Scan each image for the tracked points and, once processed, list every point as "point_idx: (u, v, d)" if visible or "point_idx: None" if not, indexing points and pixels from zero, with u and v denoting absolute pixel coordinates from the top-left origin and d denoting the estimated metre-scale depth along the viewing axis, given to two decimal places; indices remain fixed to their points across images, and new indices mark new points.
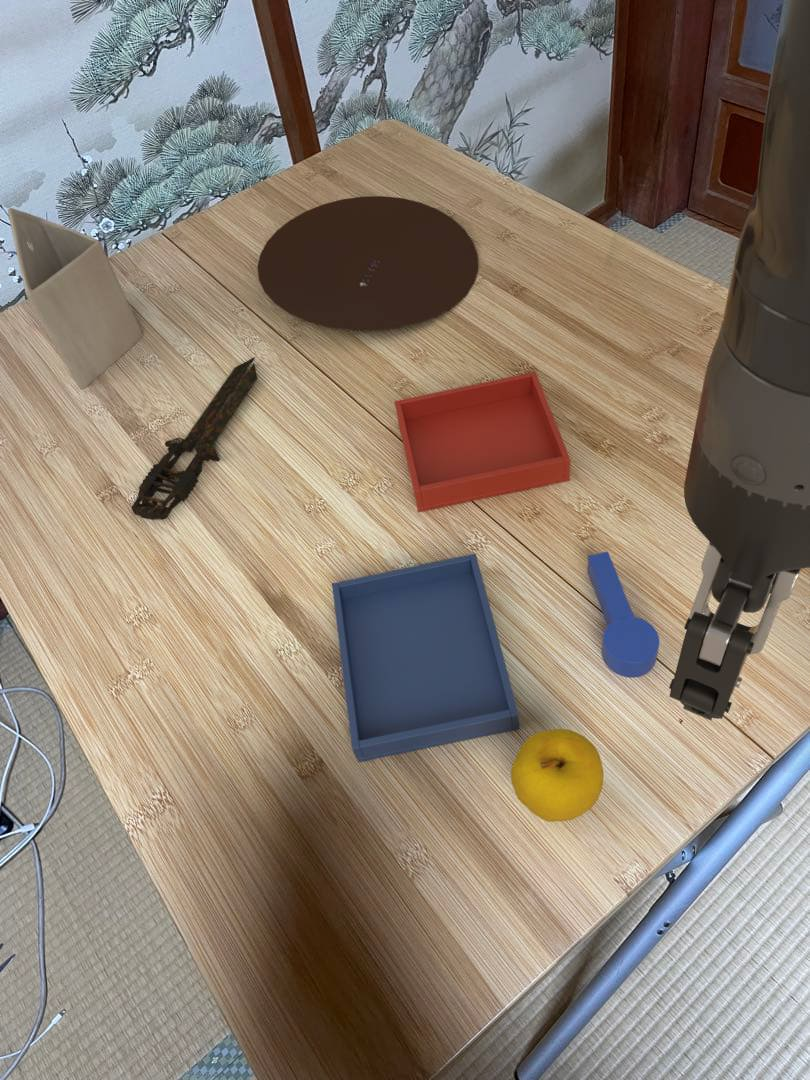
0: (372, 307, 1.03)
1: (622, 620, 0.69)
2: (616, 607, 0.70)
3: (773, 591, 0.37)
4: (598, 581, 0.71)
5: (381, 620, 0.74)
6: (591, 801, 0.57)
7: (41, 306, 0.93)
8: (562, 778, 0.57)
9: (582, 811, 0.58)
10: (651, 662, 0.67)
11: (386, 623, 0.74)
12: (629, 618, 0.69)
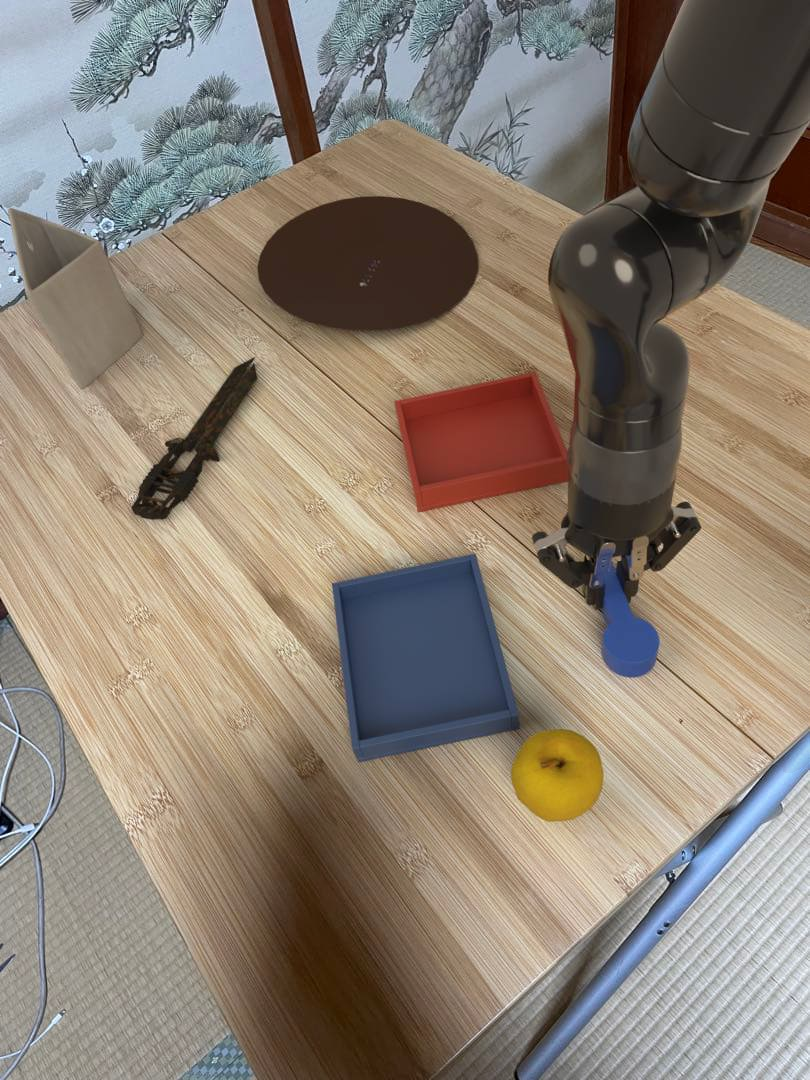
0: (372, 306, 1.03)
1: (622, 620, 0.69)
2: (616, 607, 0.70)
3: (596, 549, 0.65)
4: None
5: (381, 620, 0.74)
6: (591, 801, 0.57)
7: (41, 306, 0.93)
8: (562, 778, 0.57)
9: (582, 811, 0.58)
10: (651, 662, 0.67)
11: (386, 623, 0.74)
12: (629, 618, 0.69)
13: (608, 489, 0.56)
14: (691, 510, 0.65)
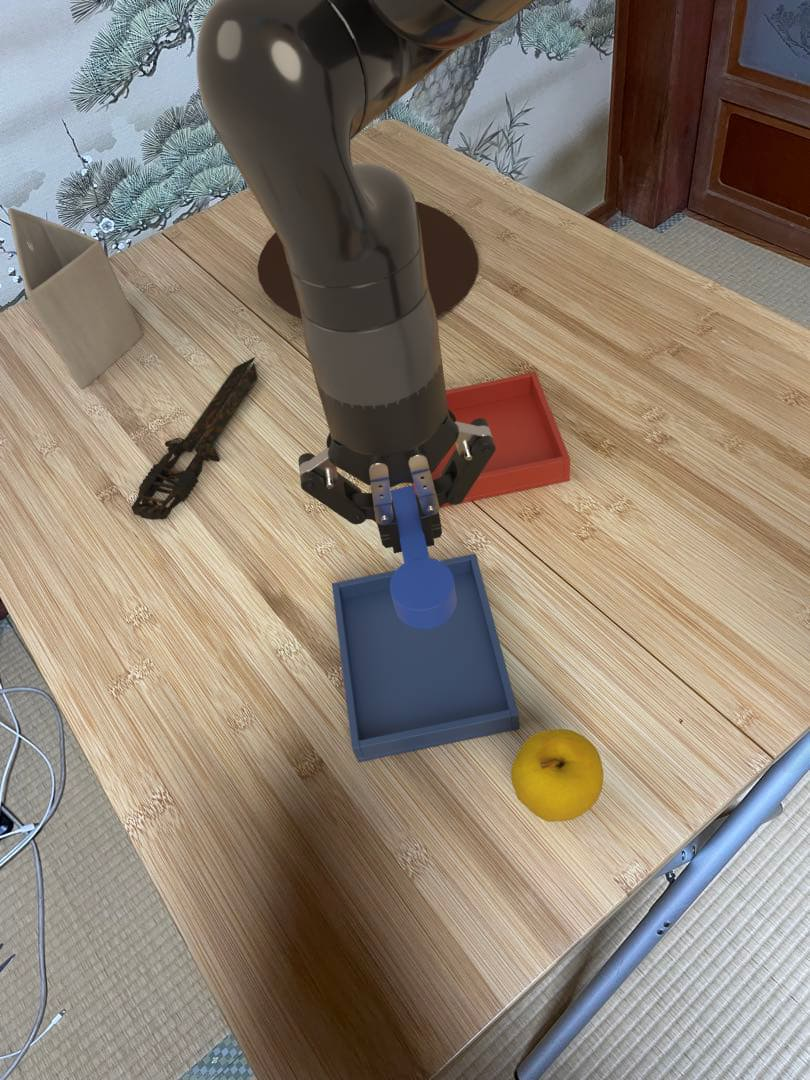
0: None
1: (415, 562, 0.58)
2: (411, 547, 0.59)
3: (368, 473, 0.54)
4: (396, 518, 0.61)
5: (381, 620, 0.74)
6: (591, 801, 0.57)
7: (41, 306, 0.93)
8: (562, 778, 0.57)
9: (582, 811, 0.58)
10: (444, 610, 0.56)
11: (386, 623, 0.74)
12: (424, 560, 0.58)
13: (343, 385, 0.45)
14: (485, 428, 0.54)
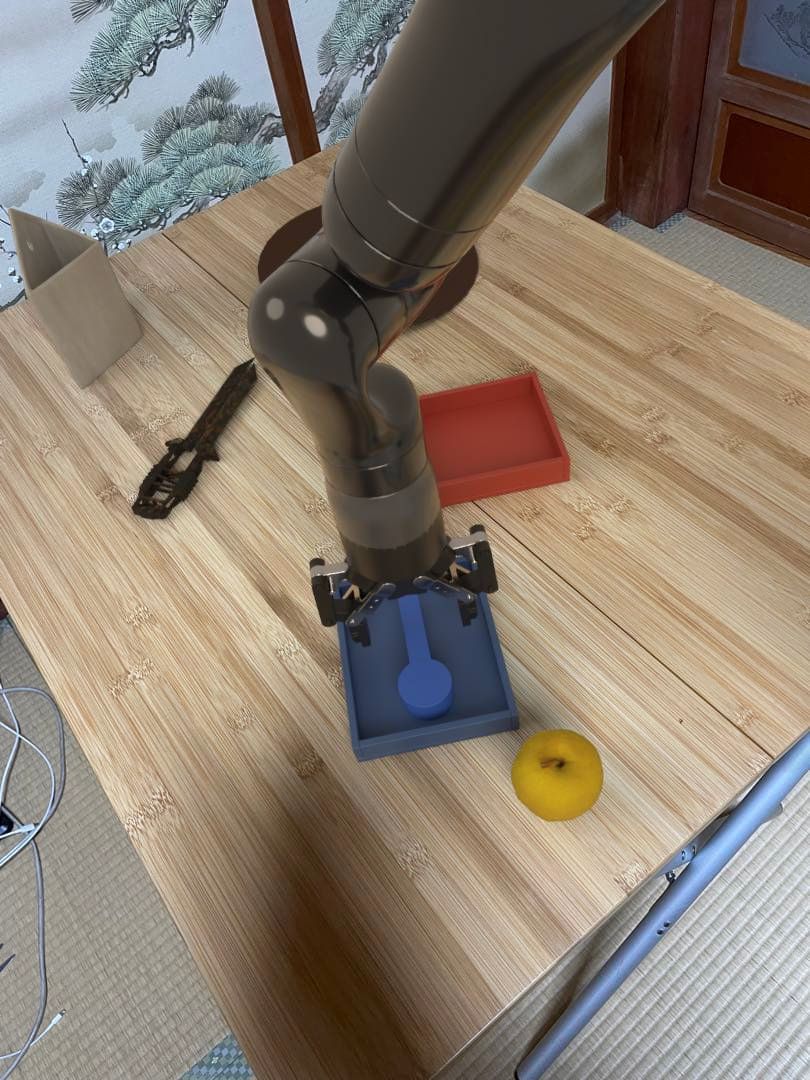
0: None
1: (419, 662, 0.68)
2: (415, 648, 0.69)
3: (374, 586, 0.63)
4: (402, 621, 0.71)
5: (381, 620, 0.74)
6: (591, 801, 0.57)
7: (41, 306, 0.93)
8: (562, 778, 0.57)
9: (582, 811, 0.58)
10: (443, 706, 0.67)
11: (386, 623, 0.74)
12: (426, 661, 0.68)
13: (359, 534, 0.55)
14: (478, 534, 0.62)
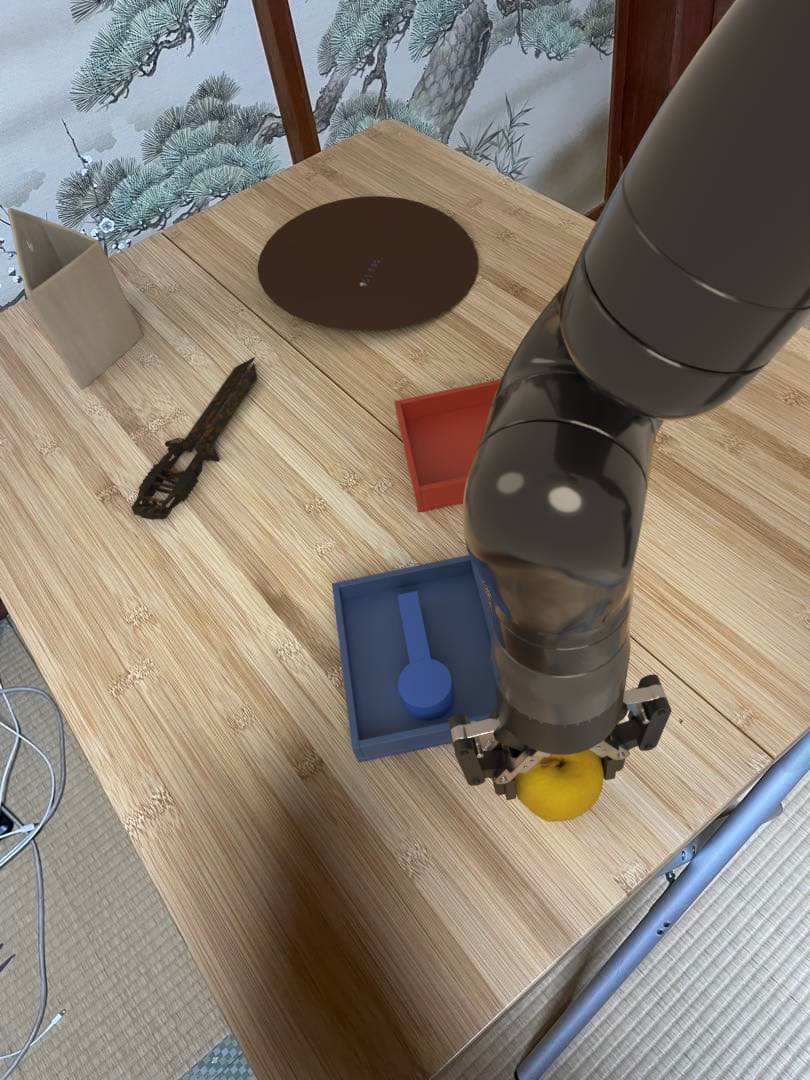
0: (372, 307, 1.03)
1: (419, 662, 0.68)
2: (415, 648, 0.69)
3: (528, 747, 0.52)
4: (402, 621, 0.71)
5: (381, 620, 0.74)
6: (591, 800, 0.57)
7: (41, 306, 0.93)
8: (563, 778, 0.57)
9: (582, 811, 0.58)
10: (443, 706, 0.67)
11: (386, 623, 0.74)
12: (426, 661, 0.68)
13: (537, 709, 0.44)
14: (655, 688, 0.52)
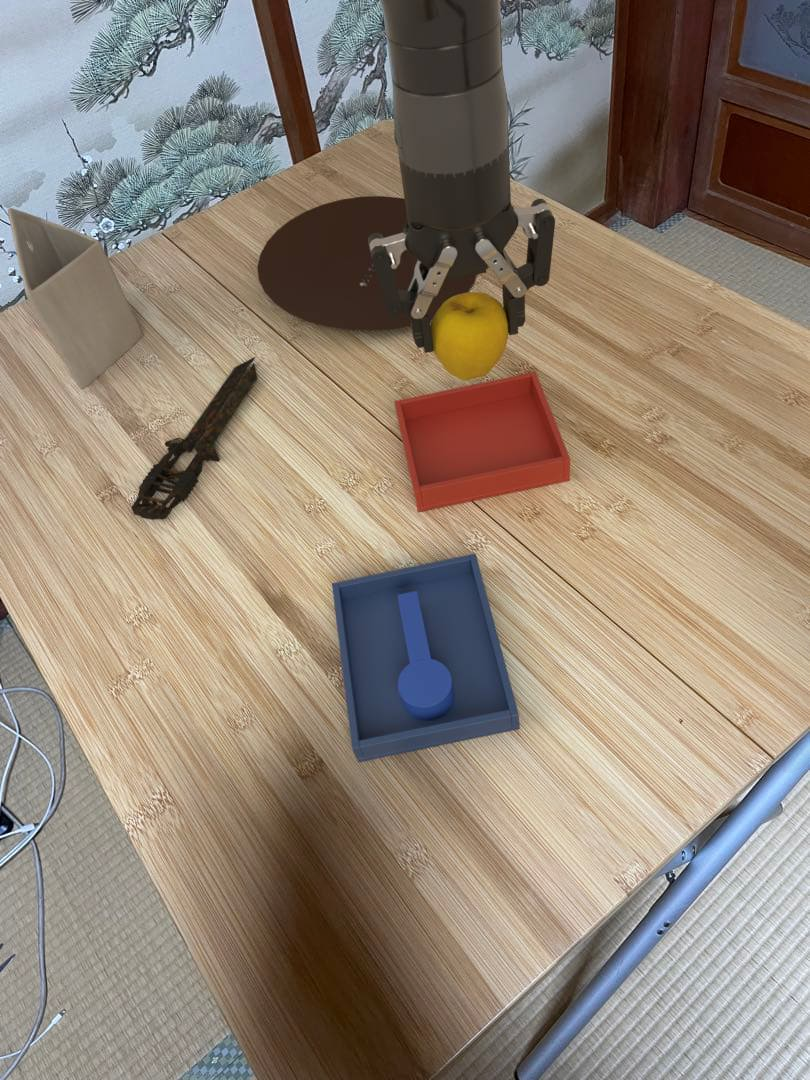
0: (372, 306, 1.03)
1: (419, 662, 0.68)
2: (415, 648, 0.69)
3: (435, 257, 0.61)
4: (402, 621, 0.71)
5: (381, 620, 0.74)
6: (496, 342, 0.67)
7: (41, 306, 0.93)
8: (470, 316, 0.66)
9: (488, 353, 0.67)
10: (443, 706, 0.67)
11: (386, 623, 0.74)
12: (426, 661, 0.68)
13: (429, 153, 0.53)
14: (542, 205, 0.61)
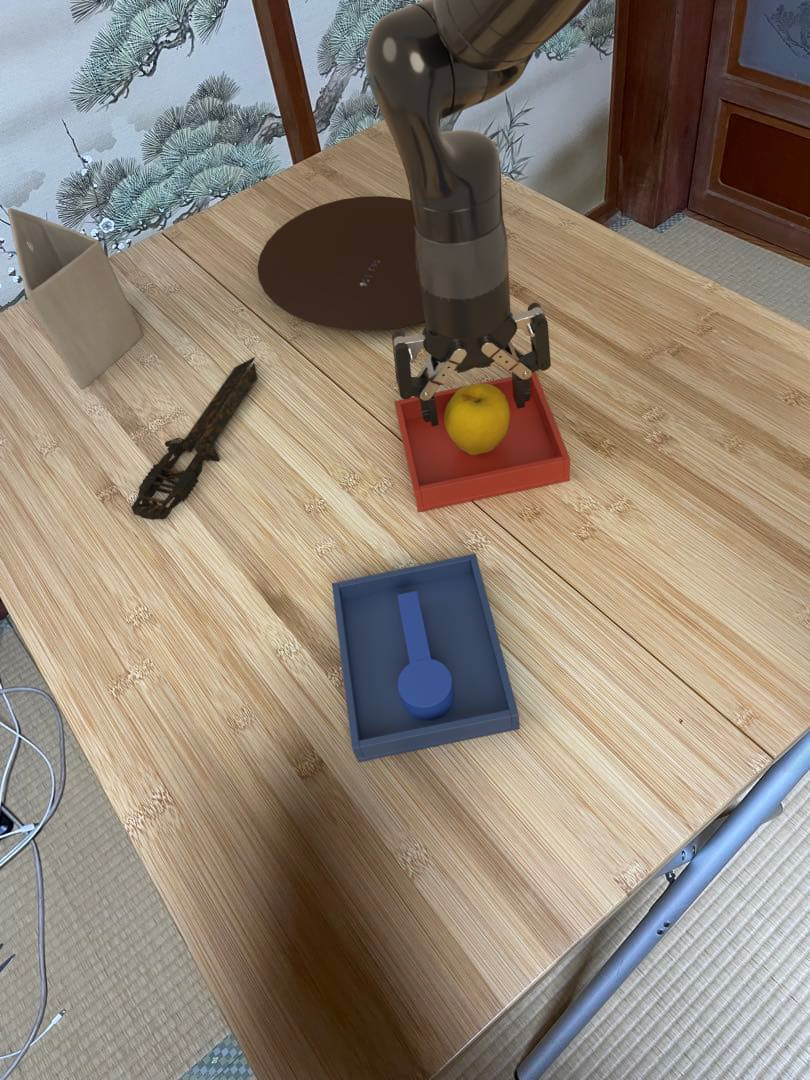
0: (372, 307, 1.03)
1: (419, 662, 0.68)
2: (415, 648, 0.69)
3: (447, 354, 0.74)
4: (402, 621, 0.71)
5: (381, 620, 0.74)
6: (499, 426, 0.80)
7: (41, 306, 0.93)
8: (478, 406, 0.79)
9: (493, 435, 0.81)
10: (443, 706, 0.67)
11: (386, 623, 0.74)
12: (426, 661, 0.68)
13: (444, 284, 0.66)
14: (535, 309, 0.74)
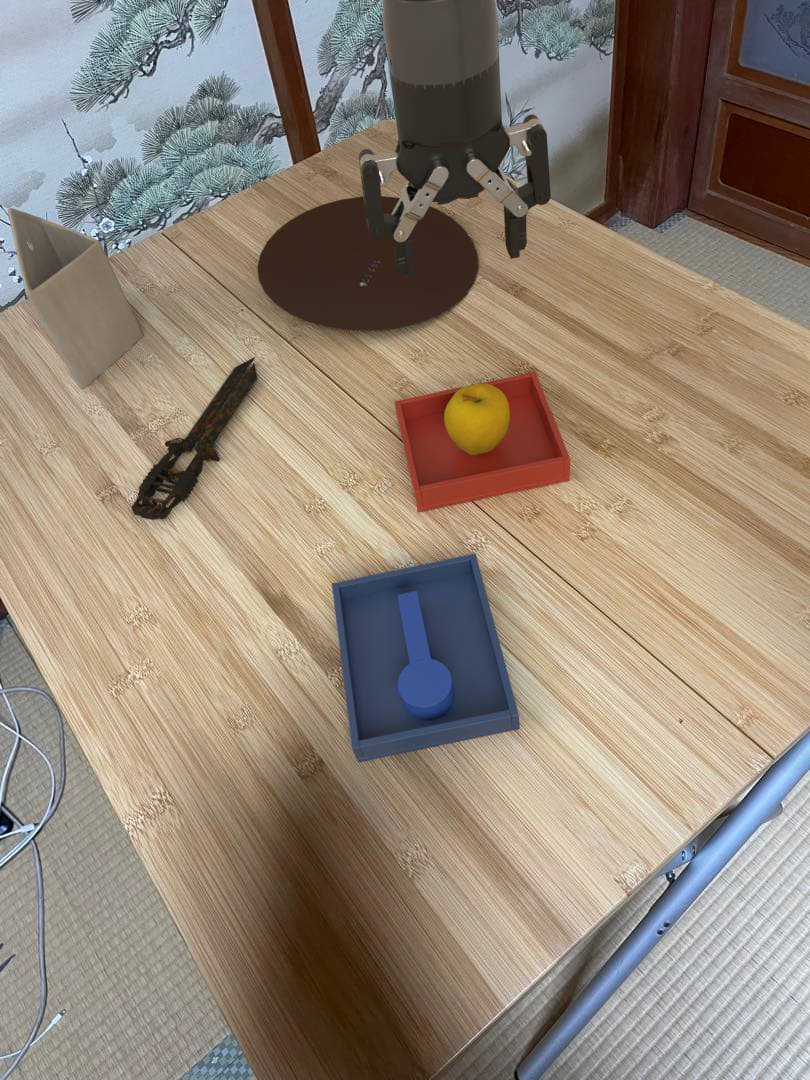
0: (372, 306, 1.03)
1: (419, 662, 0.68)
2: (415, 648, 0.69)
3: (425, 177, 0.61)
4: (402, 621, 0.71)
5: (381, 620, 0.74)
6: (499, 426, 0.80)
7: (41, 306, 0.93)
8: (478, 406, 0.79)
9: (493, 435, 0.81)
10: (443, 706, 0.67)
11: (386, 623, 0.74)
12: (426, 661, 0.68)
13: (418, 63, 0.54)
14: (532, 120, 0.61)
